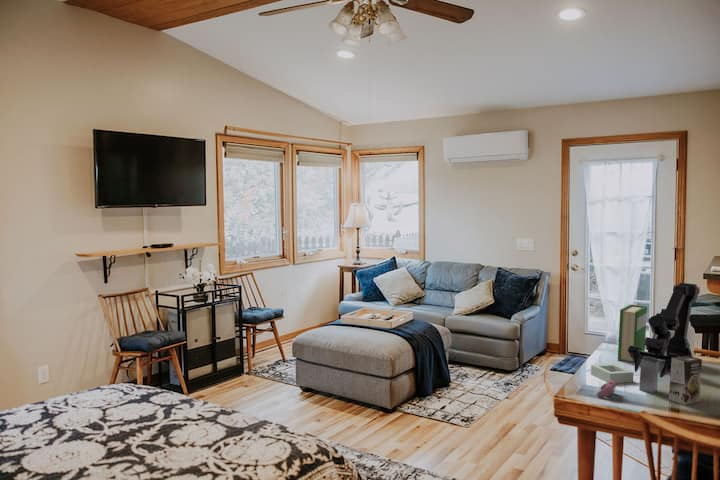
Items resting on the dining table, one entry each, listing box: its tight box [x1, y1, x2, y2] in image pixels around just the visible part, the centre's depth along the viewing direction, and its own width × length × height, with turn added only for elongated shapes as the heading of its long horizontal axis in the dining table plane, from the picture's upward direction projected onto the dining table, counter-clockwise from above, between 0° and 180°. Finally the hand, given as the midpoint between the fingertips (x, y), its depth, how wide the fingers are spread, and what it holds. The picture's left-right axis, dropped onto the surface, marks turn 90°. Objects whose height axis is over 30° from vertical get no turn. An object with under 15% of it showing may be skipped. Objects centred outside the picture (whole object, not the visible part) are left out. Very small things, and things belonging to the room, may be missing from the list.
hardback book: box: [617, 304, 648, 364], centre depth 260 cm, size 18×7×24 cm, turn 140°
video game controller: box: [596, 380, 618, 398], centre depth 209 cm, size 10×5×7 cm, turn 148°
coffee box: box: [668, 356, 703, 406], centre depth 204 cm, size 9×6×16 cm
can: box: [663, 320, 696, 363], centre depth 254 cm, size 12×12×20 cm
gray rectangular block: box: [638, 357, 660, 394], centre depth 215 cm, size 5×5×12 cm
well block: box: [590, 363, 635, 384], centre depth 230 cm, size 11×12×4 cm
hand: (647, 374), depth 214 cm, fingers open, 9 cm apart
